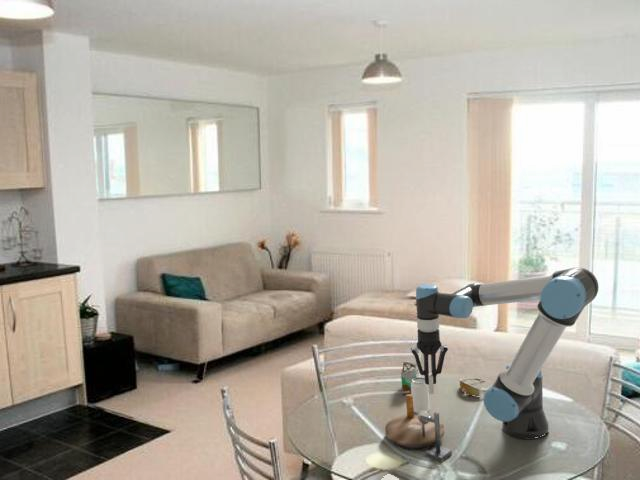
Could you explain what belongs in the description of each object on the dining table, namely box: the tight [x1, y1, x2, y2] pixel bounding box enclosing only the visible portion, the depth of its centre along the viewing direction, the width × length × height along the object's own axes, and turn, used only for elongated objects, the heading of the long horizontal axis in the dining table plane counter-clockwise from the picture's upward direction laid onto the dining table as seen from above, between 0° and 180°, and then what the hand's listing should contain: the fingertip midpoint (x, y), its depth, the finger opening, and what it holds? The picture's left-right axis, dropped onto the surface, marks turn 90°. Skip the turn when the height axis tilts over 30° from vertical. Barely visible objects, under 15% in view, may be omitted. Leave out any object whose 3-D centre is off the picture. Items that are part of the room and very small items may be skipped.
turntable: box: [384, 394, 445, 446], centre depth 222 cm, size 20×20×10 cm
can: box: [411, 377, 430, 415], centre depth 243 cm, size 6×6×12 cm
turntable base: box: [391, 441, 436, 451], centre depth 223 cm, size 16×16×2 cm
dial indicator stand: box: [417, 410, 453, 463], centre depth 211 cm, size 10×6×14 cm, turn 46°
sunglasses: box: [459, 377, 488, 397], centre depth 258 cm, size 14×15×5 cm
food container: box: [400, 361, 419, 396], centre depth 262 cm, size 12×6×10 cm, turn 168°
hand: (430, 392), depth 230 cm, fingers closed
